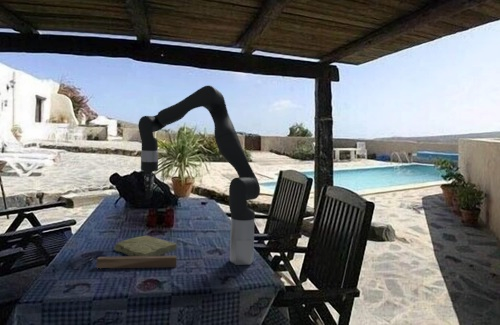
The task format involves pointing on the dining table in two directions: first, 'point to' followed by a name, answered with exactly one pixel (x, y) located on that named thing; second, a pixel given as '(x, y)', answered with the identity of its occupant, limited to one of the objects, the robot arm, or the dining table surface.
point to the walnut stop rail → (136, 262)
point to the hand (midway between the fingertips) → (149, 197)
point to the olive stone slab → (145, 246)
